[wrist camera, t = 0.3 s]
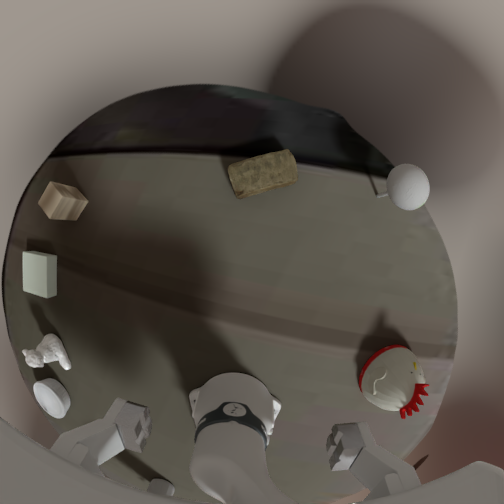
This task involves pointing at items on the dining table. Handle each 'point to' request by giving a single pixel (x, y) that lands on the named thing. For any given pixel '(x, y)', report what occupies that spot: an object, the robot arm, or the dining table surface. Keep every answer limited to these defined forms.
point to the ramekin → (52, 397)
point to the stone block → (263, 173)
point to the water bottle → (161, 487)
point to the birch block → (62, 202)
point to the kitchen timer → (393, 380)
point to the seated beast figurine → (48, 353)
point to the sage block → (40, 273)
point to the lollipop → (407, 187)
